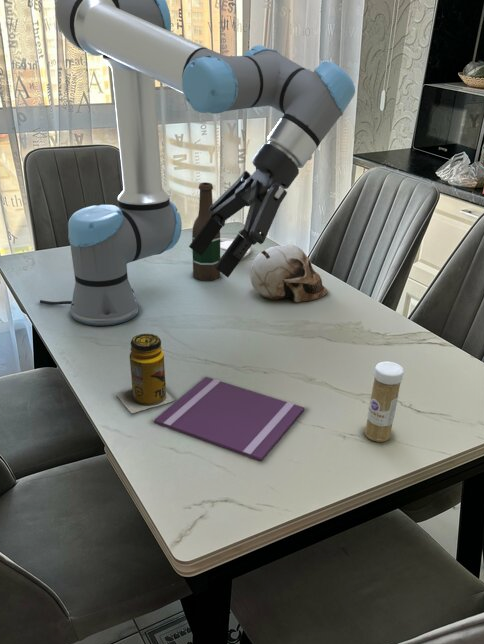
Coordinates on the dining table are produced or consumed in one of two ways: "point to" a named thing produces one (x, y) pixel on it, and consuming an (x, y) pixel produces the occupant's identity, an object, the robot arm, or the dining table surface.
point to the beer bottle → (211, 256)
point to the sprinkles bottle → (383, 400)
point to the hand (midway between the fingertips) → (207, 261)
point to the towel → (231, 417)
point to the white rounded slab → (227, 242)
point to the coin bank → (286, 275)
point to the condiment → (146, 375)
